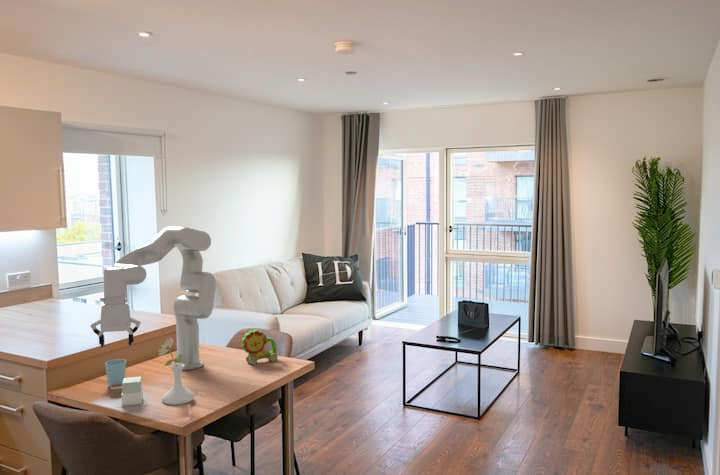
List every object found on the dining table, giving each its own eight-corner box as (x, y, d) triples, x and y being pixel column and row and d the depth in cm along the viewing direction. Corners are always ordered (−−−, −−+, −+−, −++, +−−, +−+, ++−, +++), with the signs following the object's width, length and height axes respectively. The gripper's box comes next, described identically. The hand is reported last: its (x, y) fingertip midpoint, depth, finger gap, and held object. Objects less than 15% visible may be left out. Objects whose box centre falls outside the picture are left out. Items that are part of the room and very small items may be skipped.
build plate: (119, 400, 209) (119, 397, 209) (148, 397, 212) (148, 395, 212) (115, 410, 200) (115, 407, 199) (145, 407, 202) (145, 404, 202)
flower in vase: (181, 394, 216) (179, 330, 214) (200, 400, 209) (199, 334, 207) (151, 404, 205) (149, 337, 203) (171, 412, 198) (169, 342, 196)
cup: (114, 392, 217) (114, 365, 217) (101, 389, 221) (100, 363, 220) (131, 386, 224) (130, 360, 223) (117, 383, 228) (116, 358, 227)
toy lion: (273, 358, 263) (273, 326, 261) (278, 361, 258) (277, 328, 257) (240, 363, 255) (240, 330, 253) (244, 366, 250) (244, 333, 249)
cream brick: (124, 399, 208) (123, 388, 208) (142, 397, 210) (142, 386, 209) (121, 405, 202) (121, 394, 201) (141, 403, 203) (140, 392, 203)
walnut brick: (112, 394, 215) (111, 384, 215) (126, 393, 217) (126, 383, 216) (110, 399, 211) (110, 389, 210) (124, 398, 212) (124, 387, 212)
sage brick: (124, 388, 207) (123, 377, 207) (141, 386, 209) (141, 376, 209) (122, 394, 202) (122, 383, 201) (140, 392, 204) (140, 381, 203)
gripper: (88, 303, 204) (89, 349, 206) (139, 301, 209) (140, 346, 211) (91, 299, 212) (93, 344, 213) (141, 297, 216) (142, 341, 218)
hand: (116, 345), depth 212 cm, fingers open, 9 cm apart
